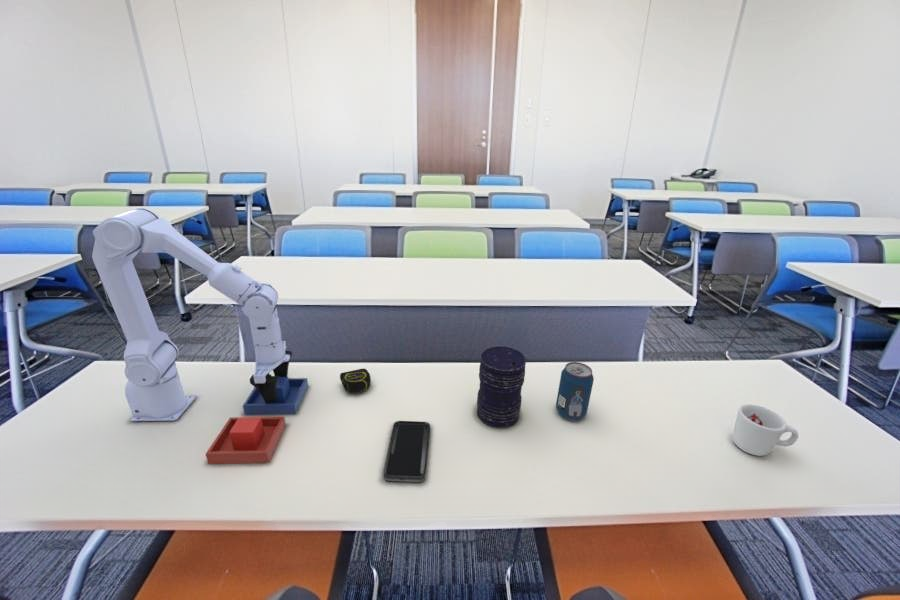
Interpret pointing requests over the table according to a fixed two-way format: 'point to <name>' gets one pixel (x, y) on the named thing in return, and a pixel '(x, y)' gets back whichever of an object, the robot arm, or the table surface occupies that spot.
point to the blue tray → (258, 406)
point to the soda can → (574, 391)
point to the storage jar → (500, 386)
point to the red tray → (225, 454)
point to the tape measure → (355, 380)
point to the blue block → (282, 390)
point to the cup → (760, 430)
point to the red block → (247, 433)
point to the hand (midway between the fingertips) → (276, 391)
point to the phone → (407, 452)
